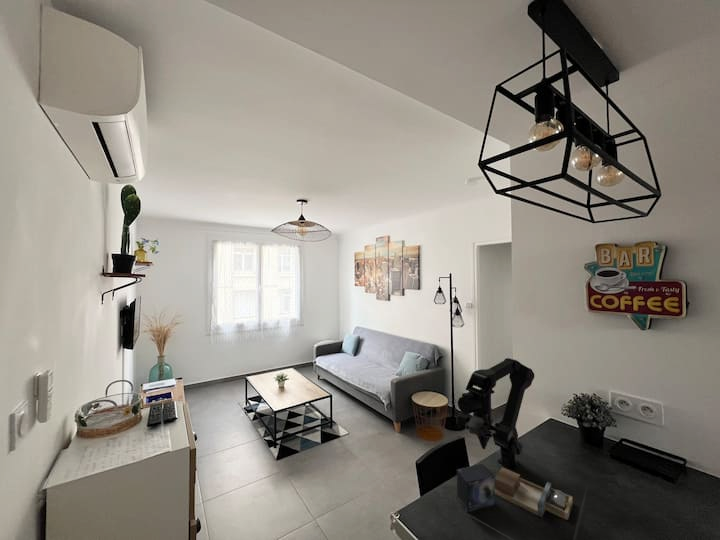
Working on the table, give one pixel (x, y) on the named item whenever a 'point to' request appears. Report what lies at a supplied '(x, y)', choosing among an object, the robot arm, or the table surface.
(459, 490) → the small box
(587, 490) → the table surface
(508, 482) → the slab
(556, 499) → the roller
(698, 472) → the table surface
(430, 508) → the table surface
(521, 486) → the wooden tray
